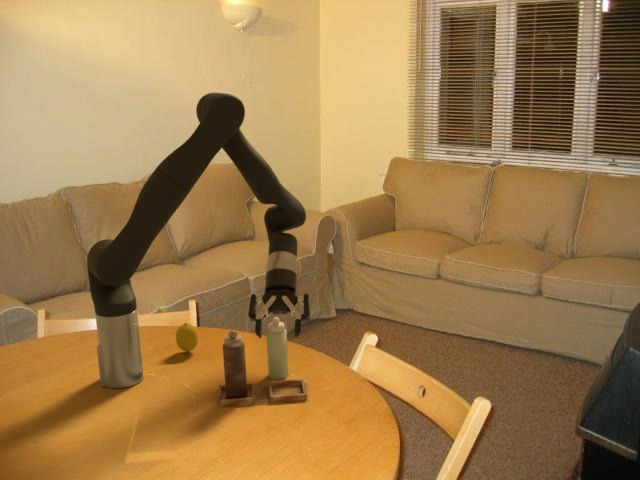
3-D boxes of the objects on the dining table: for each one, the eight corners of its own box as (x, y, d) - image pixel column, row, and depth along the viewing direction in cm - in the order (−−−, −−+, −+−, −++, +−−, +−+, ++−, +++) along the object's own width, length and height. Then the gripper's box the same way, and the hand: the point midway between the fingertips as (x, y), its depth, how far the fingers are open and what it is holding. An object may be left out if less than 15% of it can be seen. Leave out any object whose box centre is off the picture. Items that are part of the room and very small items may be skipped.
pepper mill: (225, 402, 154) (221, 335, 151) (226, 392, 159) (221, 327, 155) (247, 400, 155) (243, 333, 151) (247, 391, 159) (243, 325, 156)
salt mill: (269, 384, 165) (265, 321, 161) (268, 376, 169) (265, 314, 165) (289, 383, 165) (286, 320, 161) (288, 374, 170) (285, 313, 166)
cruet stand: (215, 413, 152) (214, 402, 152) (216, 394, 161) (216, 384, 161) (310, 405, 154) (309, 395, 154) (306, 387, 163) (306, 377, 162)
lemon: (201, 348, 187) (199, 319, 185) (196, 357, 182) (193, 326, 180) (180, 348, 187) (178, 318, 185) (174, 356, 182) (171, 326, 180)
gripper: (250, 267, 172) (244, 330, 164) (309, 266, 171) (307, 330, 163) (254, 281, 179) (249, 343, 171) (312, 281, 178) (310, 343, 170)
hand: (278, 336), depth 167 cm, fingers open, 8 cm apart
